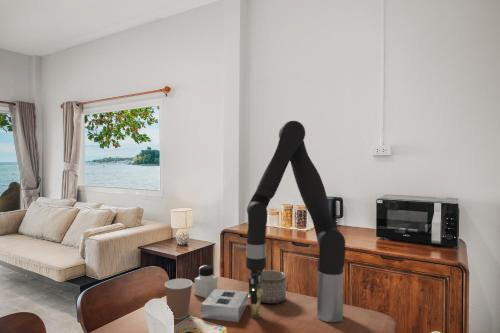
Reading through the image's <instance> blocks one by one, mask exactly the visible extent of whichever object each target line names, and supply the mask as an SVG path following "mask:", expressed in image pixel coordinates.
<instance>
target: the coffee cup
mask: <svg viewBox="0 0 500 333" xmlns="http://www.w3.org/2000/svg"><path fill="white" fill-rule="evenodd" d="M193 284H194V282H193V281H192V280H191V279H187V278H174V279H170V280H167V281H165V283H164V287H165V297H166V298H165V299H166V306H167V305H168V306H169V308H170V309H171V311H172V312H173V315H174V319H173V320H182V319H185V318H186V317H188V314H189V312H190V311H189V310H190V302H191V295H192V287H193V286H192V285H193Z"/></svg>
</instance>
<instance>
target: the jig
mask: <svg viewBox="0 0 500 333" xmlns="http://www.w3.org/2000/svg"><path fill="white" fill-rule="evenodd" d="M200 305H201V307H200V308H201V311H200V312H201V313H200V314H201V315H200V318H202V319H208V320H209V319H210V320H217V321H227V322H235V323H239V322H240V320H241V318H242V316H243V314H244V313H245V311H246V309H247V308H248V305H249V298H248V291H242V290H235V289H234V290H232V289H221V288H217V289H214V290H213V292H212V293H211V294H210V295H209V296H208V297H207V298H205V300H204V301H203V302H202V303H201V304H200Z"/></svg>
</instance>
